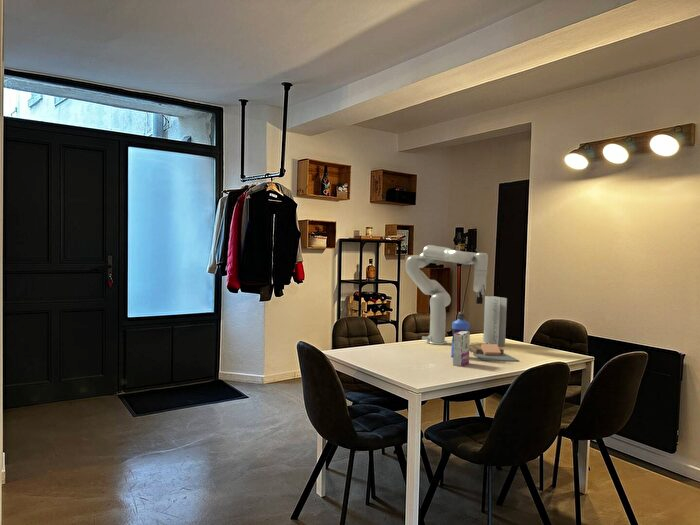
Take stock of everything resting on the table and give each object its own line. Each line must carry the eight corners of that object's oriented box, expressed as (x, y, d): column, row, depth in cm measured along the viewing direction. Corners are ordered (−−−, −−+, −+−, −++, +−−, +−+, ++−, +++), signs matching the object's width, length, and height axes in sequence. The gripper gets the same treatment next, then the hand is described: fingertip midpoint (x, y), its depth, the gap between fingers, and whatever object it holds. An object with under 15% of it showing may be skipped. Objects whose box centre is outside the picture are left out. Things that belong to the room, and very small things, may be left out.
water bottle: (447, 356, 289) (449, 311, 289) (456, 354, 296) (458, 310, 295) (462, 359, 283) (464, 313, 282) (471, 357, 290) (473, 312, 289)
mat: (482, 360, 282) (483, 359, 282) (473, 354, 297) (473, 353, 297) (519, 361, 284) (519, 360, 284) (507, 355, 299) (507, 354, 299)
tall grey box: (483, 342, 341) (485, 296, 340) (489, 342, 343) (491, 296, 343) (497, 346, 328) (500, 298, 328) (504, 346, 331) (507, 298, 330)
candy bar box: (460, 361, 277) (461, 330, 277) (469, 363, 274) (470, 331, 274) (452, 365, 268) (453, 333, 267) (461, 366, 265) (463, 334, 265)
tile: (484, 355, 294) (485, 352, 293) (480, 346, 300) (481, 343, 299) (500, 355, 295) (500, 352, 294) (496, 347, 301) (497, 344, 300)
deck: (476, 354, 298) (476, 349, 298) (468, 350, 311) (468, 345, 311) (503, 355, 300) (503, 349, 300) (494, 350, 313) (495, 345, 313)
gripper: (470, 272, 325) (469, 302, 326) (478, 273, 310) (477, 304, 311) (482, 272, 326) (481, 302, 326) (491, 274, 311) (489, 305, 312)
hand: (479, 303), depth 319 cm, fingers closed
